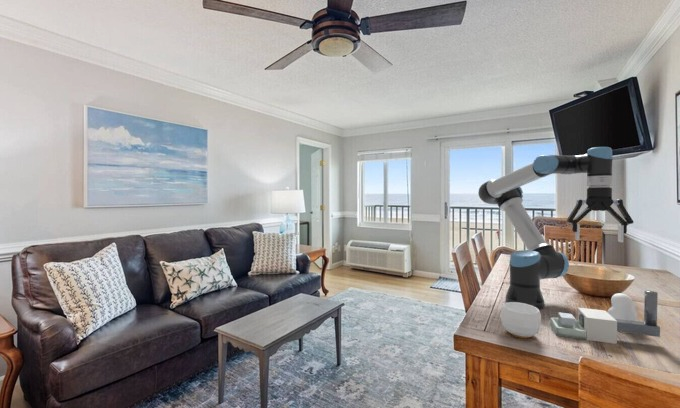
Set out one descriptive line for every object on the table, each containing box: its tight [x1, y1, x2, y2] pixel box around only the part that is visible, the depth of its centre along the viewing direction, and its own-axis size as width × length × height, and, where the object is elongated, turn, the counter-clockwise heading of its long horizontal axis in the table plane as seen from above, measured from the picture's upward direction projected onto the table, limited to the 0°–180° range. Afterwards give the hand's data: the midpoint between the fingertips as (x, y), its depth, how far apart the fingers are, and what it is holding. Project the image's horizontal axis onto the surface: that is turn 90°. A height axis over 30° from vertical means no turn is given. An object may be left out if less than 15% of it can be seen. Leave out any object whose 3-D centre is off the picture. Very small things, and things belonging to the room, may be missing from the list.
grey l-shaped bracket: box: [579, 289, 661, 338], centre depth 104 cm, size 20×3×14 cm, turn 66°
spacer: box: [557, 311, 576, 329], centre depth 110 cm, size 5×5×4 cm
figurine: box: [607, 292, 638, 321], centre depth 114 cm, size 7×8×12 cm
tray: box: [549, 316, 586, 341], centre depth 110 cm, size 8×10×3 cm
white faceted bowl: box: [500, 302, 542, 339], centre depth 108 cm, size 12×12×10 cm
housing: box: [577, 307, 618, 345], centre depth 107 cm, size 8×10×8 cm
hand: (598, 241), depth 121 cm, fingers open, 13 cm apart
